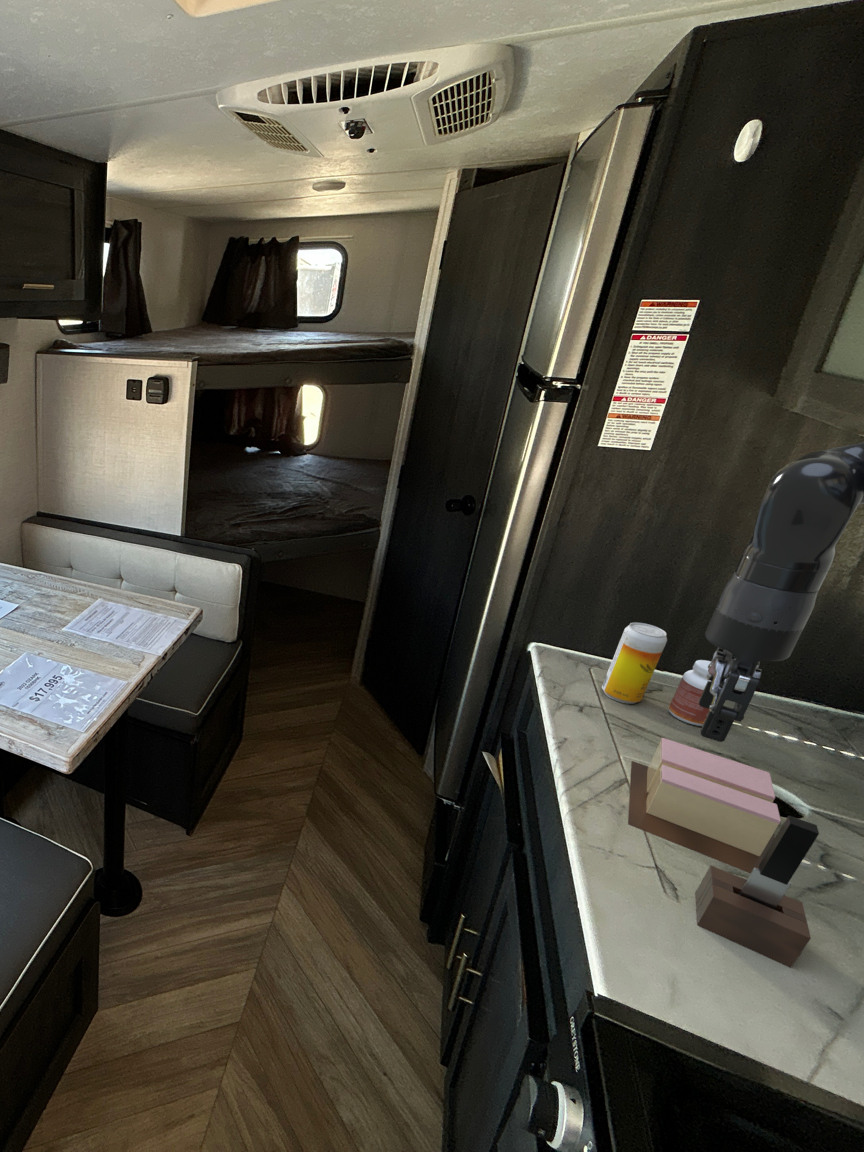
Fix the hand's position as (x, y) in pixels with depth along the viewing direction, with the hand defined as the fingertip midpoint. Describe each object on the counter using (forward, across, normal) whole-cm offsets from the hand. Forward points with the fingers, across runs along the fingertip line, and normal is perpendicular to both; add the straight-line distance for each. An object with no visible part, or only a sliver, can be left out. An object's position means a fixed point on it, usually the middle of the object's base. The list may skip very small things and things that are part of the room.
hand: (709, 722), depth 83 cm
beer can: (+21, +41, +6) cm, 46 cm away
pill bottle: (+21, +41, -4) cm, 46 cm away
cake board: (+21, +8, -4) cm, 23 cm away
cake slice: (+20, +6, -4) cm, 21 cm away
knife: (+20, -13, -8) cm, 25 cm away
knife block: (+21, -13, -8) cm, 25 cm away
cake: (+20, +13, -4) cm, 24 cm away
